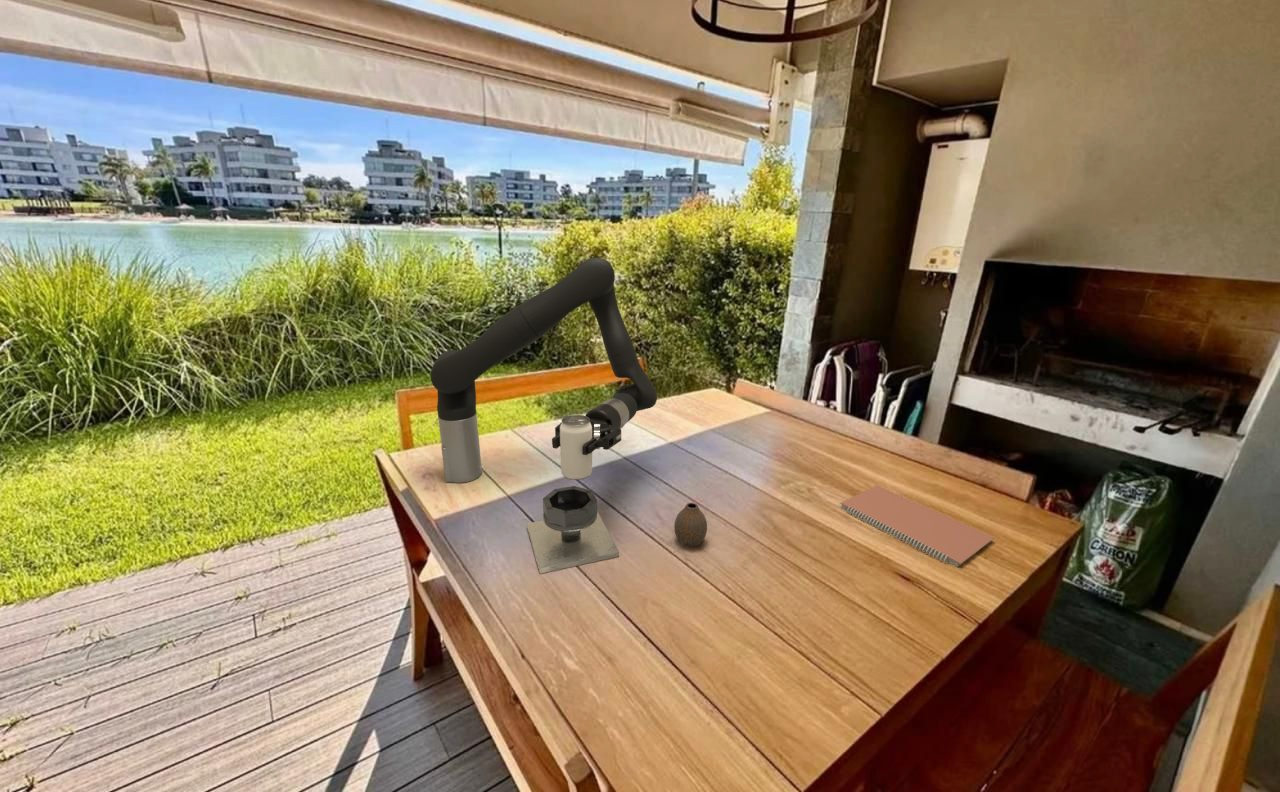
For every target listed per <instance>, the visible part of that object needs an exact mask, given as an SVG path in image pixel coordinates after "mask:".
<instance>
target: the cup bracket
mask: <svg viewBox="0 0 1280 792" xmlns="http://www.w3.org/2000/svg"><path fill="white" fill-rule="evenodd" d="M542 512H543V513H542V514H543V520H537V521H533V522H529V523H526V530H527V532H528V536H529V540H530V543H531V547H532V550H533V553H534V558H535V561H536V564H537V568H538V571H539V574H540V575H541V574H545V573H549V572H554V571H559V570H564V569H568V568H572V567H577V566H582V565H587V564H590V563H591V564H592V563H595V562H599V561H604V560H609V559H614V558H617V557H620V551H619V549H618V547H617V545H616V543H615V541H614V540H613V538H612V536H611V534H610V532H609V530H608V529H607V526H606V524H605V523H604V520H603V519H602V517H601V515H600V514H599V511H598V499H597V497H596V496H595V494H594V492H593V490H592V489H588V488H583V487H581V486H576V485H570V486H566V487H559V488H554V489H553V490H551V491H550V492H549V493H548V494H546V495H545V496H544V497H543V498H542Z"/></svg>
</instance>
